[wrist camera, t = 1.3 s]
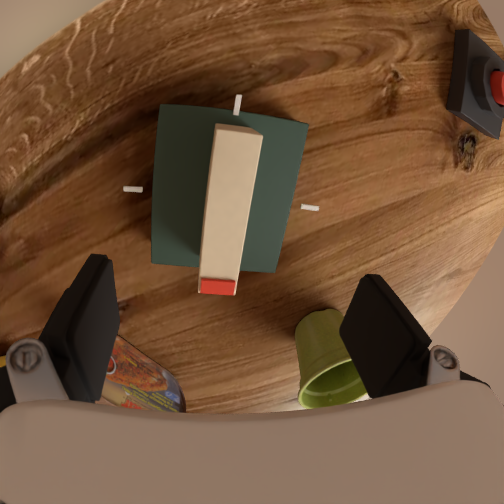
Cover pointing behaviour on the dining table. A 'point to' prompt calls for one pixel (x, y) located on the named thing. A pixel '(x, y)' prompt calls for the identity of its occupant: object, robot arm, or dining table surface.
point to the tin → (139, 382)
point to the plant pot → (325, 362)
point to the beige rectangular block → (227, 206)
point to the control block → (475, 84)
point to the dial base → (196, 177)
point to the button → (497, 86)
